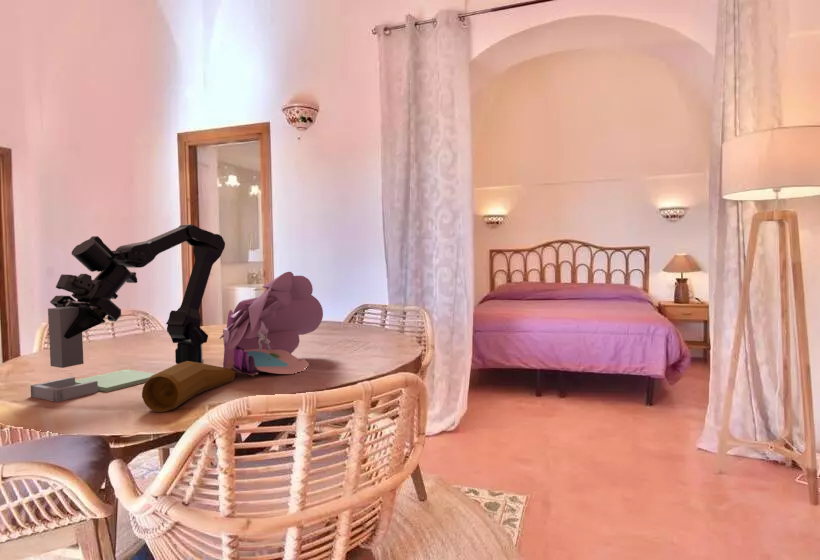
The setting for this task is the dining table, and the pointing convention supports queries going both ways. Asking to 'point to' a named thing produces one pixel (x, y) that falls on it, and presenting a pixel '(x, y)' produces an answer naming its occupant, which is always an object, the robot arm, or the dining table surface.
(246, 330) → the flower arrangement
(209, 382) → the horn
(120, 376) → the two-tone flat tray
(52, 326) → the chute block
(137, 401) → the dining table surface
